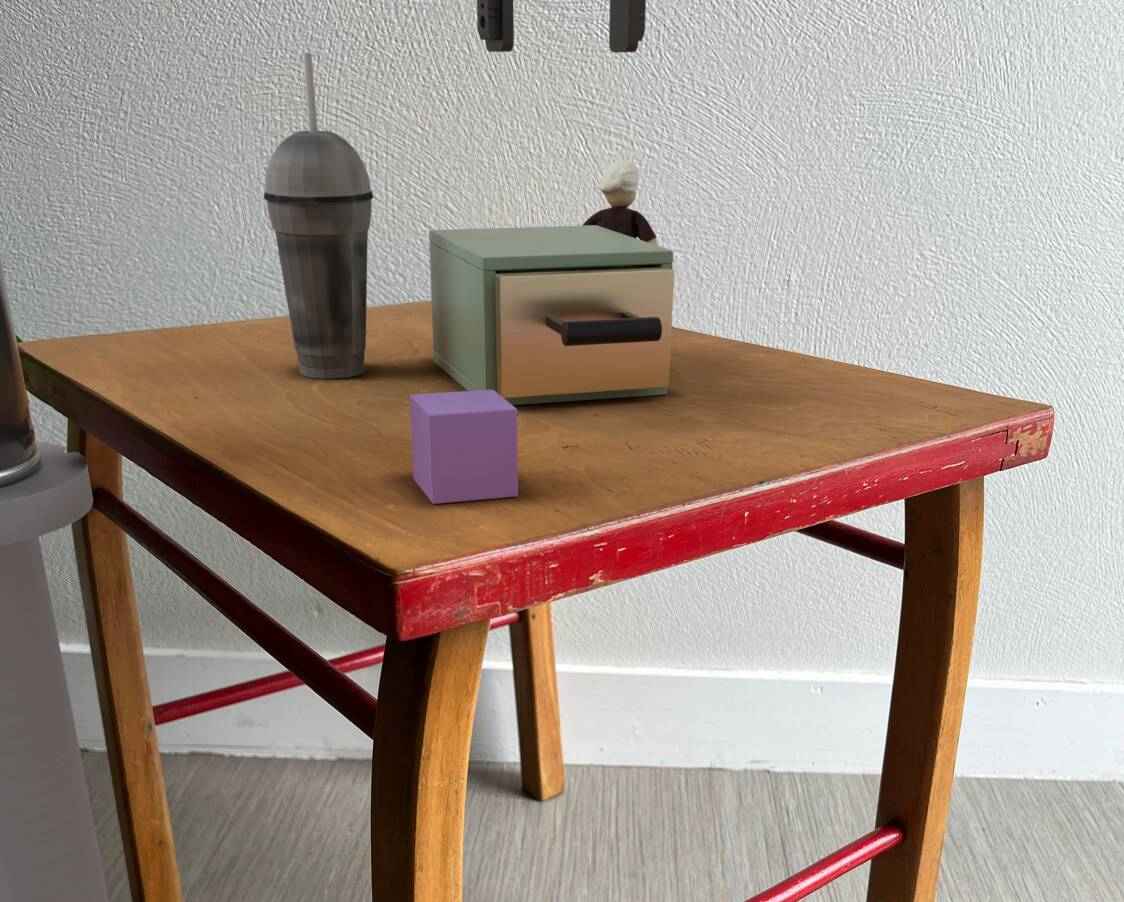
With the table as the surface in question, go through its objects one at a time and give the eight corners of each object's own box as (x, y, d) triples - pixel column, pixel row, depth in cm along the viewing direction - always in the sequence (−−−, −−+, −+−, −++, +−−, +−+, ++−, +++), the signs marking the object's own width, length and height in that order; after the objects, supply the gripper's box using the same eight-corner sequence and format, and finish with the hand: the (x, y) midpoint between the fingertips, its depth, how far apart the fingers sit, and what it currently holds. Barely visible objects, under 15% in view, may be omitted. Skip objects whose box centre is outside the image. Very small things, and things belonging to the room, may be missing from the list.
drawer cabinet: (667, 394, 86) (673, 250, 82) (485, 407, 83) (482, 257, 78) (594, 352, 98) (596, 225, 94) (433, 362, 95) (428, 230, 91)
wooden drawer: (699, 404, 80) (706, 281, 77) (524, 417, 77) (523, 289, 74) (599, 348, 96) (601, 243, 92) (450, 356, 92) (446, 248, 89)
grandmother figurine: (664, 322, 110) (671, 159, 104) (656, 330, 107) (663, 163, 101) (576, 318, 111) (578, 157, 105) (566, 326, 108) (567, 160, 102)
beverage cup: (281, 384, 88) (249, 52, 78) (279, 363, 94) (249, 52, 85) (388, 380, 89) (369, 53, 80) (379, 359, 96) (361, 53, 86)
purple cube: (432, 504, 65) (429, 415, 63) (413, 479, 68) (409, 394, 66) (518, 496, 66) (517, 408, 64) (494, 473, 70) (493, 388, 68)
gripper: (637, -265, 75) (628, 53, 82) (413, -297, 68) (426, 51, 76) (714, -291, 69) (697, 53, 77) (477, -329, 63) (485, 51, 70)
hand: (562, 52), depth 76 cm, fingers open, 8 cm apart
